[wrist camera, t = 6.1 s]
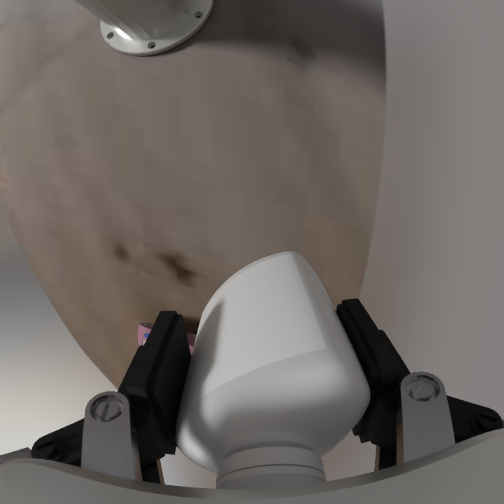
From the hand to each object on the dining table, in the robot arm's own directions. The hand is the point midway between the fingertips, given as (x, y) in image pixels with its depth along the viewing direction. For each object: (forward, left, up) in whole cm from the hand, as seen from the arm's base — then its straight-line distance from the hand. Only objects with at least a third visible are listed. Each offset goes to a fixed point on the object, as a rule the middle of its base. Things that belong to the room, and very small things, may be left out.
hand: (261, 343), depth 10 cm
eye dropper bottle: (0, 0, -4) cm, 4 cm away
